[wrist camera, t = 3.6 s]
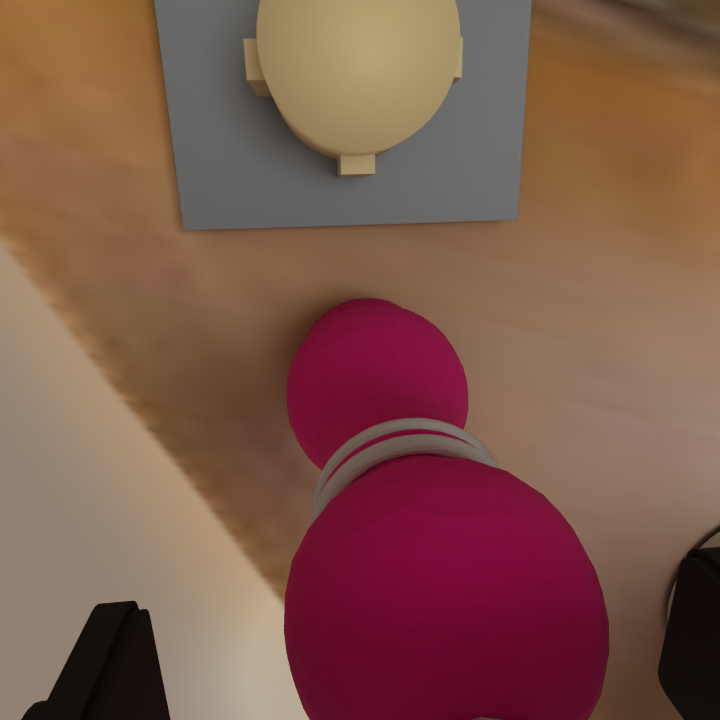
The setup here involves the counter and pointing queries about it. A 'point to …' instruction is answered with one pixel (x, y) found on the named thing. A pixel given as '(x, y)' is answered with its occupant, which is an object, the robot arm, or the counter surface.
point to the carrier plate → (302, 184)
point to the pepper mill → (426, 545)
